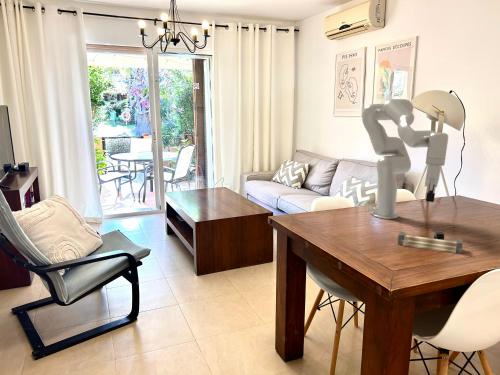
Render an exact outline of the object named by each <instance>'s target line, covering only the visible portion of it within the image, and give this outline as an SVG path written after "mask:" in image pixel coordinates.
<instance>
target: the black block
mask: <svg viewBox="0 0 500 375" xmlns="http://www.w3.org/2000/svg"><path fill="white" fill-rule="evenodd" d="M431 238H432V239H439V240H445V233H444V232H443V231H441V230H434V237H431Z"/></svg>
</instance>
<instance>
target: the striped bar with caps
mask: <svg viewBox="0 0 500 375" xmlns="http://www.w3.org/2000/svg"><path fill="white" fill-rule="evenodd" d="M432 238H433V237H422V236H415V235H408V234H406V232H405V231H399V233H398V237H397V245H401V246H403V247H411V248H417V249H425V250H430V251H431V250H432V251H438V252H444V253H445V252H446V253H449V254H450V253H451V254H452V253H453V254H462V253H463V244H464V243H463V239H459V238H456V241H452V240H446V239H444V240H439V239H432Z"/></svg>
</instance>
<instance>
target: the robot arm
mask: <svg viewBox="0 0 500 375" xmlns="http://www.w3.org/2000/svg"><path fill="white" fill-rule="evenodd" d="M413 106H414V105H413V103H412V102H411V101H410V100H409V99H405V98H392V99H388V100H386V101H385V102H384V103H372V104H369V105H366V106H365V107H364V108H363V110H362V114H361V119H362V120H361V121H362V124H363V126H364V128H365V130H366V132H367V134H368V136H369V140H370V143H371V144H372V145H371V146H372V148H373V151H374V152H375V154H376V155H378V156H382V157H380V158H378V160H377V162H376V172H377V192H376V193H377V194H376V206H370V205H369V206H368V207H367V210H368V211H370V212H372V216H373V217H375V218H379V219H385V220H387V219H388V220H392V219H398V218H399V213H397V211H396V209H397V208H396V207H397V197H398V196H397V193H398V180H397V178H396V176H395V175H397V174H398V175H399V174H400V175H401V174H406V173H408V172H409V171H410V170H411V166H412V161H411V158H410V155H409V153H408V150H407V148H406V146H408V147H410V148H414V149H415V148H416V149H417V148H427V150H426V156H425V157H426V158H425V164H426V165H427V167H426V168H427V169H426V174H425V181H424V187H425V188H426V187H427V192H426V196H425V197H426V198H425V201H426V202H429V203H434V201H435V195H436V193H435V192H436V188H437V187H438V184H439V180H440V175H441V169H442V167H443V166H446V164H445V163H446V157H447V150H448V143H449V134H448V133H445V132H437V131H434V130H414V128H412V126H411V125H412V124H413V123H414V120H415V115H414V113H412V112H413V109H414V107H413ZM379 121H392V122H393V123H394V124H395V125H396V126H397V134H398V136H388V134H387V132H386V129H385V127H384V125H382V124H381V123H380V122H379Z"/></svg>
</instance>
